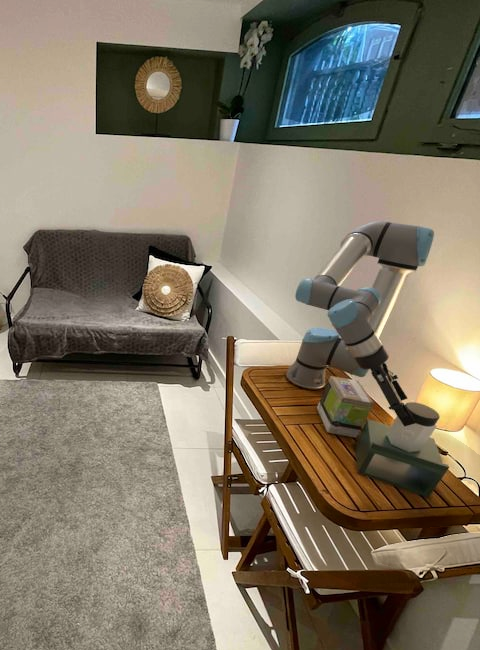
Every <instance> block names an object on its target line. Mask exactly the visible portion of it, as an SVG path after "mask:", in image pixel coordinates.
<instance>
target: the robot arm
mask: <svg viewBox="0 0 480 650" xmlns="http://www.w3.org/2000/svg"><path fill="white" fill-rule="evenodd" d="M434 238H435V232H434V230H433V229H431V228H429V227H425V226H420V225H413V224H412V225H411V224H404V223H398V222H389V221H384V220H382V221H373V222H368V223H366V224H363V225H361V226H358V227H357V228H355V229H353V230H352V231H350V232H349V233H348V234H346V236H345V237H344V238H343V239H342V241H341V242H340V244H339V245H340V246H339V248H338V249H337V251H336V252H335V253H334V254H333V255H332V257H331V258H329V260H328V261H327V262H326V263H325V265H324V266H323V268H321V270H319V272H318V274H316V276H315V277H314V278H313V279H312V278H303V279H302V280H301V281H300V282H299V284H298V285H297V288H296V291H295V295H294V298H295V300H296V301H297V302H299V303H302V304H305V305H306V306H310V307H315V308H318V309H321V310H325V311H327V313H326V315H327V318H328V319H329V321H330V323H331V326H332V327H333V328H334V329H335V330H334V329H330V328H326V327H314V328H310V329H307V331H305V333H304V336H303V337H302V340H301V343H300V347H299V349H298V350H299V351H298V352H297V355H296V359H295V361H294V362H293V363H292V364H291V365H290V366H289V368H288V369H287V370H286V373H285V378H286V380H287V381H288V382H289V383H290V384H292V385H294V386H296V387H298V388H300V389H303V390H308V391H319V390H322V389H324V388H325V386H326V369H327V367H331V368H333V369H336V370H338V371H342V372H344V373H347V374H348V375H349V374H350V376H355V377H358V378H364V377H366V376H367V375H368V374H369V373H370V371H371V376H372V378H373V379H374V380H375V381H376V383H377V385H378V387H379V389H380V390H381V392H382V394H383V396H384V398H385V400H386V401H387V403H388V405H389V406H388V409H389V410H392V411H393V412H394V414H395V415H396V417H397V416H398V417H399V419H400V421H401V422H402V424H403V425H404V427H405V426H408V425H412V424H415V423H416V422H415V421H414V419H413V417H412V416H411V414H410V413H409V411H408V410H407V408H406V406H405V403H404V402H403V401H405V400H408V396H407V395H406V393H405V391H404V390H403V389H402V387H401V385H400V384H399V382H398V379H399V377H398V375H397V374H395V375H394V372H392V370H391V368H389V366H388V364H387V361H388V360H389V358H390V355H389V353H388V351H387V350H386V348H385V346H384V345H382V341H381V340H380V335H381V334H382V331H383V329H384V327H385V325H386V323H387V321H388V319H389V317H390V315H391V313H392V310H393V308H394V306H395V305H396V302H397V300H398V298H399V296H400V293H401V291H402V289H403V287H404V285H405V283H406V281H407V278H408V277H409V276H410V274H413V273H415V272H417V269H418V268H419V267H424V266H425V264H426V262H427V260H428V257H429V254H430V251H431V248H432V244H433V241H434ZM368 256H369V257H373V258H377V259H378V260H377V263H376V264H377V266H378V268H379V270H378V272H377V274H376V276H375V280H374V281H373V284H372V286H371V287H370V286H365V287H360V288H359V289H357V290H355V289H352V288H348V287H344V286H341V285H342V283H343V282H344V281H345V280H346V279H347V277H348V276H349V274H350V273H352V271H353V269H354V268H355V267H356V265H358V263H359V262H360V260H363V259H364V258H366V257H368Z"/></svg>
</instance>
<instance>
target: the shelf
mask: <svg viewBox="0 0 480 650" xmlns="http://www.w3.org/2000/svg"><path fill="white" fill-rule="evenodd" d="M391 426H392V425H390V424H385V423H382V422H379V421H376V420H372V419H369V418H366V420H365V422H364V424H363V425H362V427H361V429H360V431H359V433H358V435H357V437H356V440H355V443H354V444H355V446H354V447H355V458H356V472H357V475H361V476H364V477H366V478H370V479H373V480H375V481H378V482H381V483H384V484H387V485H390V486H392V487H395V488H399V489H400V490H401V489H402V490H404V491H408V492H410V493H414V494H415V495H416V494H417V495H419V496H422V497H424V498H430V496H431V494H433V492H434V490H435V489H436V488H437V486H438V485H439V483H440V482H441V480H442V479H443V477H444V476H445V475H446V473H447V472H448V470H449V468H450V466H449V464H446V463H444V462H443V459H442V457H441V453H440V451H439V448H438V446H437V443H436V441H435V438H433V437H430V438H429V439H428V441H427V442H426V444H425V446H424V447H423V449H422V450H421V451H417V452H406V451H404V450H402V449H400V448H398V447H396V446H394V445H392V444H391V443H390V441H389V439H388V437H387V433H388V431H389V429H390V428H391Z"/></svg>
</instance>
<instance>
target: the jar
mask: <svg viewBox="0 0 480 650" xmlns="http://www.w3.org/2000/svg"><path fill="white" fill-rule="evenodd" d="M404 405H405V406H406V408H407V410H408V411H409V413H410V414H411V416H412V417H413V419H414V421H415V422H416V423H415V424H412V425H408V426H405V427H404V425H403V424H402V422H401V421H400V419H399V417H398V416H397V415H396V417H395V418H396V419H395V418H394V420H393V423H391V425H390V426H391V428H390V429H389V431H388V433H387V437H388V439H389V441H390V443H391V444H392V445H394V446H396V447H398V448H400V449H402V450H404V451H406V452H417V451H421V450H422V449H423V447H424V446H425V444H426V442H427V441H428V439H429V438H431V436H432V435H433V433H434V431H435V429H436V428H437V423H438V421H439V420H440V418H441V416H440V413H438V411H437V410H435V409H434V408H432V407H430V406H428V405H426V404H423V403H420V402H415V401H409V402H406V403H404Z"/></svg>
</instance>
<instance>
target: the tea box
mask: <svg viewBox="0 0 480 650" xmlns="http://www.w3.org/2000/svg"><path fill="white" fill-rule="evenodd" d="M374 404H375V402H374V401H373V400H372V398H371V397H370V395H369V393H368V392H367V391H366V390H365V388H364V387H363V385H362V384H361V383H360V381H359V380H356V379H351V378H344V377H338V376H333V375H329V379H328V380H327V383H326V384H325V387H324V390H323V392H322V395H321V397H320V399H319V402H318V405H317V407H316V411H317V412H318V415H319V417H320V419H321V421H322V424H323V427H324V428H325V430H326V432H327V433H329V434H334V435H338V436H339V435H340V436H344V437H351V438H358V436H359V434H360V432H361V430H362V428H363V426H364V424H365V422H366V420H367V419H368V416H369V413H370V412H371V410H372V408H373V406H374Z"/></svg>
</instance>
